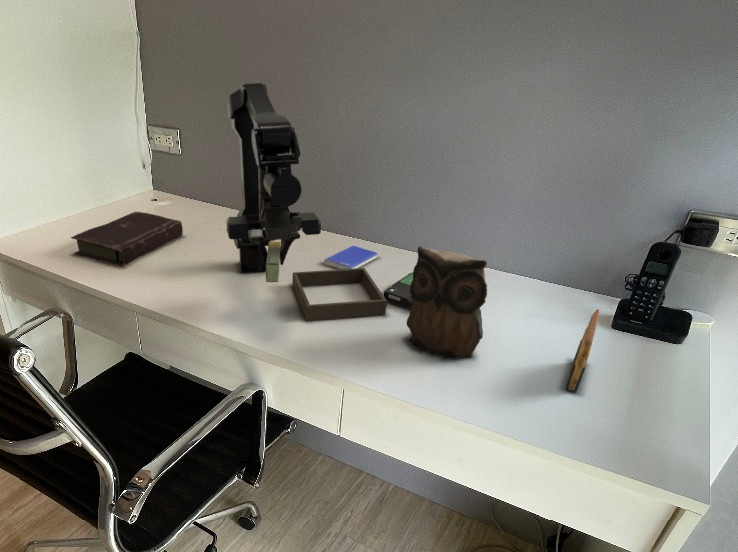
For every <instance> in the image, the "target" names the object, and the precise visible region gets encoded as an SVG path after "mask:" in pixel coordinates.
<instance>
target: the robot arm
mask: <svg viewBox="0 0 738 552" xmlns="http://www.w3.org/2000/svg"><path fill="white" fill-rule="evenodd" d="M227 117H228V119H229V120H230V124H231V128H232V130H233V131H234V133H235V134H236V136H237V137H238V143H239V160H240V179H241V197H242V205H241V207H240V209H239V211H238V213H237V214H236V216H228V218H226V220H225V221H226V232H227V236H228V239H229V240H233V243H234V246H235V247H236V249H237V250H238V252H239V253H238V255H239V257H238V258H239V261H238V266H239V270H240V273H242V274H244V273H257V272H258V273H260V272H266V262H267V253H268V248H267V247H268V244H269V241H271V242H275V241H280V263H279V265H280V266H283V265H284V264H285V263H284V262H285V260H286V258H287V255H288V252H289V249H290V247H291V246H292V244H293V242H295V241H296V240H299V239H300V238H301V235H300V231H301V232H302V233H303V234H304V235H305V236H314V235H321V233H322V223H321V220H320V218H319V217H318V215H317V214H316V213H315V211H313V212H301V211H290V209H289V207H291V206H293V205H295V204H296V203H298V200H299V199H300V197H301V195H302V185H301V182H300V180H299V179H298V177H296V175H294V173H293V172H292V165H299V164H300V159H299V158H300V157H301V149H300V145H299V139H298V134H297V133H296V132H295V127H293V126H292V123H291V121H289V119H288V118H287V117H286V116H284V115H281V114H278V113H277V111H276V109H275V108H274V106H273V103H272V101H271V99H270V97H269V94H268V89H267V84H266V83H262V82H244V83H243V84H240V87H239V89H237V90H235V91H234V92H233V93H230V94H229V97H228V101H227Z"/></svg>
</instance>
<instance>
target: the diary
mask: <svg viewBox="0 0 738 552" xmlns="http://www.w3.org/2000/svg"><path fill="white" fill-rule="evenodd" d="M183 233H184V229H183V223H182V221H181V220H178V219H173V218H169V217H165V216H161V215H157V214H153V213H148V212H142V211H133V212H131V213H128V214H126V215H124V216H122V217H119V218H117V219H114V220H112V221H110V222H107V223H105V224H102V225H99V226H96V227H92V228H89V229H87V230H85V231H82V232H80V233H77V234H75V235H73V236H70V239H72V240H76V244H77V249H78V250H77V251H74V253H73V254H74V255H78V256H81V257H84V258H89V259H92V260H95V261H96V260H97V261H99V262H103V263H106V264H111V265H115V266H118V267H125V266H127V265H128V264H130V263H132V262H133V261H135V260H137V259H139V258H140V257H141V258H142V257H143V256H145V255H147V254H149V253H151V252H153V251H156V250H158V249H159V248H161V247H163V246H165V245H166V244H168V243H170V242H172V241H174V240H177V239H178V238H181V237H182V236H183Z"/></svg>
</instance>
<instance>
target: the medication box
mask: <svg viewBox="0 0 738 552" xmlns="http://www.w3.org/2000/svg"><path fill="white" fill-rule="evenodd" d="M280 247H281V241H269V244H268V246H267V262H266V271H265V282H266V283H279V276H280Z"/></svg>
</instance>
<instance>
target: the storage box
mask: <svg viewBox="0 0 738 552" xmlns="http://www.w3.org/2000/svg"><path fill="white" fill-rule="evenodd" d="M291 281H292V283H291V285H292V288H293V291H294V293H295V296H296V298H297V301H298V303H299V305H300V308H301V310H302V314H303V316H304V318H305V320H306V322H309V321H310V322H311V321H324V320H338V319H351V318H364V317H378V316H386V313H387V312H386V311H387V306H388V305H387V304H388V301H387V300H386V299H385V297H384V296H383V295H384V293H383V292H382V291H381V290H380V288H379V287H378V285H377V284H376V283H375V281H374V279H373V278H372V276H370V274H369V272H368V271H367V270H366V268H365V267H359V268H355V269H326V270H325V269H324V270H311V271H294V272H292V280H291ZM345 284H346V285H347V284H361V285H362V287H363V288H364V289H365V291H366V293H367V294H368V296H369V298H370V299H369V300H356V301H343V302H342V301H341V302H332V303H331V302H327V303H316V304H315V303H314V304H310V302H309V299H308V296H307V294H306V292H305V290H304V288H303V287H315V286H331V285H345Z"/></svg>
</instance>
